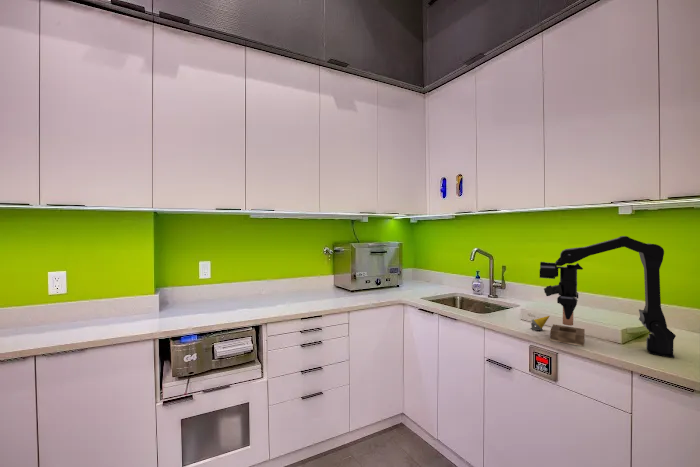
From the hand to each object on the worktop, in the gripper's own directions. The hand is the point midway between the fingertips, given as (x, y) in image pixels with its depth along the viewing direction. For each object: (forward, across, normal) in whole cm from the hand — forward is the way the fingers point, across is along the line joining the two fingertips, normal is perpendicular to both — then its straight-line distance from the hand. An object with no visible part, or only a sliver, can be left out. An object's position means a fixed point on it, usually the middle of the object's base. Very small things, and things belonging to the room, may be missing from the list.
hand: (568, 318), depth 133 cm
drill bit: (+9, -8, -11) cm, 16 cm away
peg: (+2, 0, 0) cm, 2 cm away
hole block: (+9, 0, 0) cm, 9 cm away
